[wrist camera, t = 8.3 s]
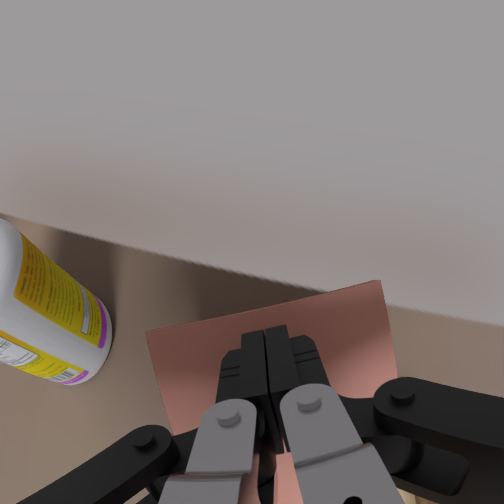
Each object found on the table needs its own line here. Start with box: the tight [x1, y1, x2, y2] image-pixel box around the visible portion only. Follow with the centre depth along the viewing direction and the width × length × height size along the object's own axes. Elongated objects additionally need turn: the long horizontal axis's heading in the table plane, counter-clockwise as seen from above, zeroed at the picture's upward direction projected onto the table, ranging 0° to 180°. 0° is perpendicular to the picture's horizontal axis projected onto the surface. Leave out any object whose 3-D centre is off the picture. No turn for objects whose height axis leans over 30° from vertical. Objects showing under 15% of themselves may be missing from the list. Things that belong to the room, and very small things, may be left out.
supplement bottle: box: [0, 218, 112, 385], centre depth 14 cm, size 7×7×13 cm
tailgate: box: [145, 280, 398, 504], centre depth 12 cm, size 9×1×9 cm
